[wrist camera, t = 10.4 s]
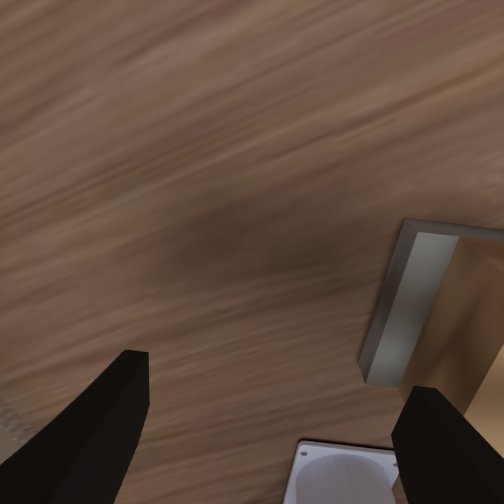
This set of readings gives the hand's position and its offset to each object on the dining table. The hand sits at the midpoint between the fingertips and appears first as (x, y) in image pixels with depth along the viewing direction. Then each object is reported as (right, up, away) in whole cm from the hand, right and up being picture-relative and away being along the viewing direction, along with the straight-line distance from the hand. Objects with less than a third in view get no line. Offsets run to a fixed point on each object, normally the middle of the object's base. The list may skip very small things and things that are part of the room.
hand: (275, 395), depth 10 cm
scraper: (+10, +1, +11) cm, 15 cm away
